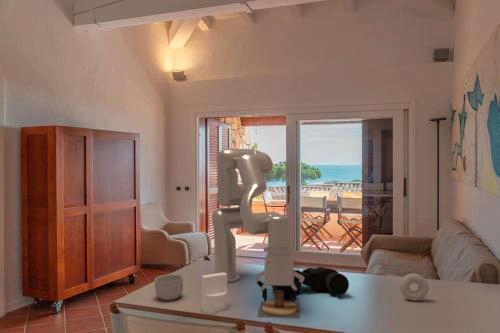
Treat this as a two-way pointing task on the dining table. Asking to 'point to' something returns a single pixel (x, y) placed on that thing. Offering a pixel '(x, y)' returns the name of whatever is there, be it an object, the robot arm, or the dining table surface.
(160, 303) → the dining table surface
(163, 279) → the teacup
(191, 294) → the dining table surface
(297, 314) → the rubber mat
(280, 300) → the oak lid
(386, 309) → the dining table surface
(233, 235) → the robot arm
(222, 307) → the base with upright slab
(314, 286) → the binoculars
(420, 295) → the donut
